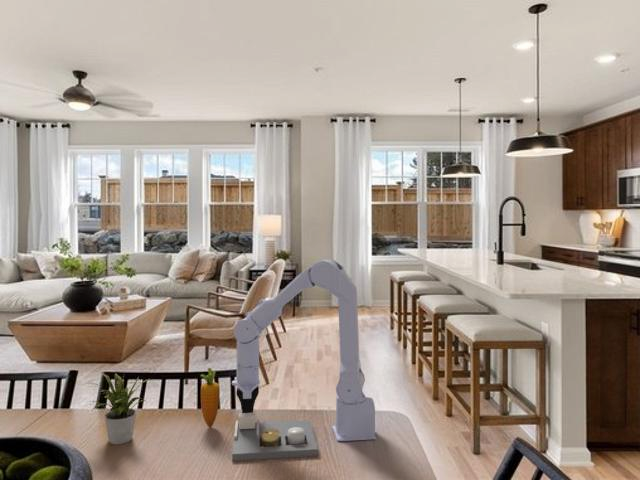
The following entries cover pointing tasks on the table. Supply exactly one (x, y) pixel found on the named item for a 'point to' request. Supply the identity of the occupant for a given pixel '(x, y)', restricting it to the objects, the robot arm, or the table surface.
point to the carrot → (209, 398)
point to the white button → (296, 436)
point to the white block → (246, 420)
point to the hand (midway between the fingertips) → (247, 416)
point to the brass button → (270, 437)
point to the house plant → (119, 411)
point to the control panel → (251, 439)
